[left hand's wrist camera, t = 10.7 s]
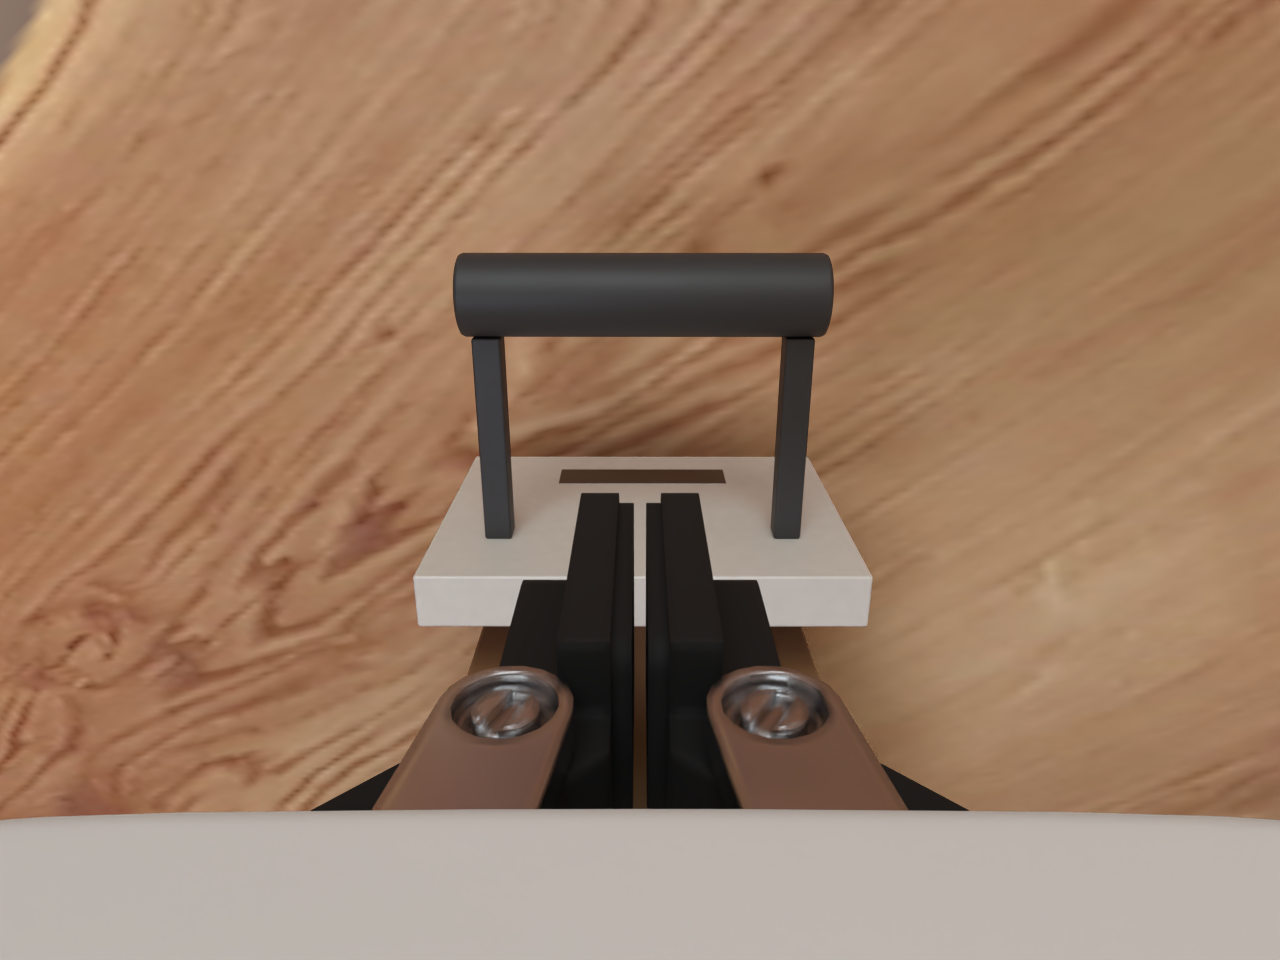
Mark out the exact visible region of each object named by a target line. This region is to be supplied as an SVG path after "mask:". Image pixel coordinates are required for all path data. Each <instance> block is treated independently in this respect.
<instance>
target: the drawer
mask: <svg viewBox="0 0 1280 960" xmlns="http://www.w3.org/2000/svg"><path fill="white" fill-rule="evenodd" d="M833 296H834V279H833V269H832V264H831V261H830V258H829V256H828V255H826V254H824V253H462V254H459V255H458V257H457V259H456V263H455V267H454V274H453V302H454V311H455V317H456V322H457V325H458V328H459V330H460V332H461V334H462V335H464V336H466V337H473V338H472V340H471V342H472V356H473V370H474V384H475V398H476V412H477V426H478V440H479V454H480V457H476V458H475V460H474V462H473V464H472V466H471V468H470V470H469V472H468V473H467V475H466V477H465V479H464V481H463V483H462V485H461V487H460V489H459V491H458V493H457V495H456V496H455V498H454V500H453V502H452V504H451V506H450V508H449V510H448V512H447V514H446V516H445V517H444V519H443V521H442V523H441V525H440V527H439V529H438V531H437V533H436V535H435V537H434V538H433V540H432V542H431V544H430V546H429V548H428V550H427V552H426V554H425V556H424V558H423V559H422V561H421V563H420V565H419V567H418V569H417V571H416V573H415V575H414V577H413V581H414V591H415V600H416V609H417V619H418V625H419V626H483V629H482V632H481V635H480V638H479V641H478V645H477V648H476V651H475V654H474V657H473V660H472V663H471V666H470V669H469V672H468V675H471V674H474V673H476V672H479V671H482V670H485V669H490V668H496V667H499V666H500V662H501V658H502V654H503V651H504V647H505V643H506V639H507V636H508V632H509V628H510V625H511V621H512V617H513V613H514V610H515V606H516V602H517V598H518V595H519V591H520V587H521V584H522V582H523V580H567V574H568V568H569V562H570V556H571V550H572V544H573V539H574V533H575V527H576V521H577V515H578V509H579V503H580V497H581V493H619V503H634V773H633V809H647V774H646V503H661V493H699V497H700V503H701V509H702V515H703V521H704V527H705V533H706V539H707V545H708V550H709V556H710V562H711V568H712V574H713V580H757V582H758V584H759V587H760V591H761V595H762V598H763V602H764V606H765V610H766V613H767V617H768V621H769V625H770V628H771V632H772V636H773V639H774V643H775V647H776V651H777V654H778V658H779V662H780V666H781V667H784V668H790V669H795V670H798V671H801V672H804V673H806V674H809V675H812V676H814V677H816V678H818V679H819V677H818V674H817V671H816V668H815V665H814V662H813V659H812V656H811V653H810V650H809V647H808V644H807V641H806V638H805V635H804V632H803V629H802V627H866V626H867V624H868V617H869V608H870V599H871V590H872V581H873V578H872V575H871V573H870V572H869V570H868V568H867V566H866V564H865V562H864V560H863V558H862V557H861V555H860V553H859V551H858V549H857V547H856V545H855V544H854V542H853V540H852V538H851V536H850V534H849V532H848V530H847V529H846V527H845V525H844V523H843V521H842V519H841V517H840V516H839V514H838V512H837V510H836V508H835V506H834V504H833V502H832V501H831V499H830V497H829V495H828V493H827V491H826V489H825V488H824V486H823V484H822V482H821V480H820V478H819V476H818V474H817V473H816V471H815V469H814V467H813V465H812V463H811V461H810V460H809V458H808V457H806V452H807V438H808V425H809V412H810V399H811V385H812V372H813V359H814V346H815V340H814V338H813V337H821V336H823V335H825V333H826V332H827V329H828V327H829V324H830V320H831V315H832V308H833ZM504 337H782V347H781V364H780V380H779V396H778V413H777V429H776V445H775V457H511V450H510V433H509V415H508V398H507V381H506V363H505V346H504ZM468 675H467V676H468Z"/></svg>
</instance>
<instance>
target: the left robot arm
mask: <svg viewBox="0 0 1280 960" xmlns="http://www.w3.org/2000/svg"><path fill="white" fill-rule="evenodd" d="M633 773H634V503H619V493H581V497H580V503H579V509H578V515H577V521H576V527H575V533H574V539H573V544H572V550H571V556H570V562H569V568H568V574H567V580H523V582H522V584H521V587H520V591H519V595H518V598H517V602H516V606H515V610H514V613H513V617H512V621H511V625H510V628H509V632H508V636H507V639H506V643H505V647H504V651H503V654H502V658H501V662H500V666H499V667H496V668H490V669H485V670H482V671H479V672H476V673H474V674H471V675H468V676H466V677H464V678H462V679H461V680H459V681H458V682H456V683H455V684H453V685H451V686H450V687H449V688H448V689H447V691H446V692H445V693H444V694H443V695H442V696H441V697H440V699H439V700H438V702H437V703H436V705H435V707H434V708H433V710H432V712H431V713H430V715H429V717H428V718H427V720H426V722H425V723H424V725H423V726H422V728H421V730H420V731H419V733H418V735H417V736H416V738H415V740H414V741H413V743H412V744H411V746H410V748H409V749H408V751H407V753H406V754H405V756H404V758H403V759H402V761H401V762H400V763H399V764H397V765H395V766H393V767H392V768H390V769H388V770H386V771H384V772H382V773H380V774H378V775H377V776H375V777H373V778H371V779H369V780H367V781H365V782H363V783H362V784H360V785H358V786H356V787H354V788H352V789H350V790H348V791H347V792H345V793H343V794H341V795H339V796H337V797H335V798H333V799H332V800H330V801H328V802H326V803H324V804H322V805H320V806H318V807H317V808H315V809H313V810H311V811H279V812H189V813H154V814H123V815H92V816H61V817H36V818H18V819H7V820H0V960H1280V820H1274V819H1262V818H1243V817H1224V816H1192V815H1156V814H1120V813H1085V812H1014V811H969V810H967V809H965V808H963V807H962V806H960V805H958V804H956V803H954V802H952V801H950V800H948V799H947V798H945V797H943V796H941V795H939V794H937V793H935V792H933V791H932V790H930V789H928V788H926V787H924V786H922V785H920V784H918V783H917V782H915V781H913V780H911V779H909V778H907V777H905V776H903V775H902V774H900V773H898V772H896V771H894V770H892V769H890V768H888V767H887V766H885V765H883V764H881V763H880V762H879V761H878V759H877V758H876V756H875V754H874V753H873V751H872V749H871V748H870V746H869V744H868V743H867V741H866V740H865V738H864V736H863V735H862V733H861V731H860V730H859V728H858V726H857V725H856V723H855V722H854V720H853V718H852V717H851V715H850V713H849V712H848V710H847V708H846V707H845V705H844V703H843V702H842V700H841V699H840V697H839V696H838V695H837V694H836V693H835V692H834V691H833V689H832V688H831V687H830V686H828V685H827V684H825V683H824V682H822V681H821V680H819V679H818V678H816V677H814V676H812V675H809V674H806V673H804V672H801V671H798V670H795V669H790V668H784V667H781V666H780V662H779V658H778V654H777V651H776V647H775V643H774V639H773V636H772V632H771V628H770V625H769V621H768V617H767V613H766V610H765V606H764V602H763V598H762V595H761V591H760V587H759V584H758V582H757V580H713V574H712V568H711V562H710V556H709V550H708V545H707V539H706V533H705V527H704V521H703V515H702V509H701V503H700V497H699V493H661V503H646V774H647V809H633Z"/></svg>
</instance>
